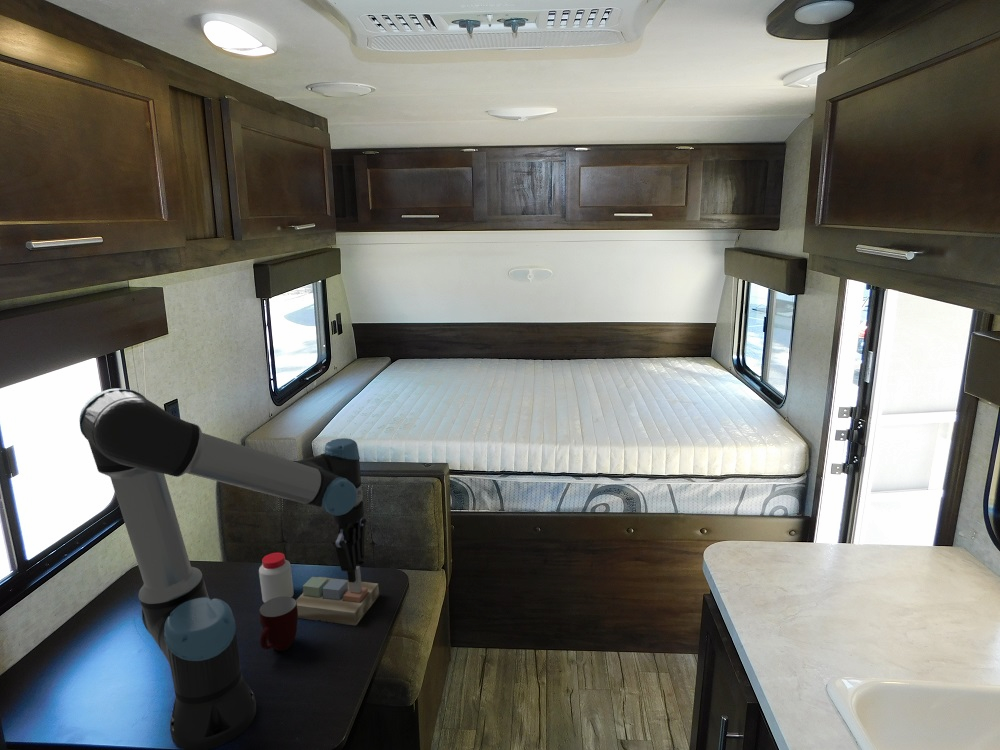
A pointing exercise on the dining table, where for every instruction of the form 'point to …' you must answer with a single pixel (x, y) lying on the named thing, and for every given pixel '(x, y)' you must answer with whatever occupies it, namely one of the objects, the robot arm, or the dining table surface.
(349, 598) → the tile terracotta
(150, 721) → the dining table surface
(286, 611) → the mug
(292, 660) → the dining table surface
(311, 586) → the tile sage
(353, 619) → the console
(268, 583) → the pill bottle
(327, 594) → the tile slate
